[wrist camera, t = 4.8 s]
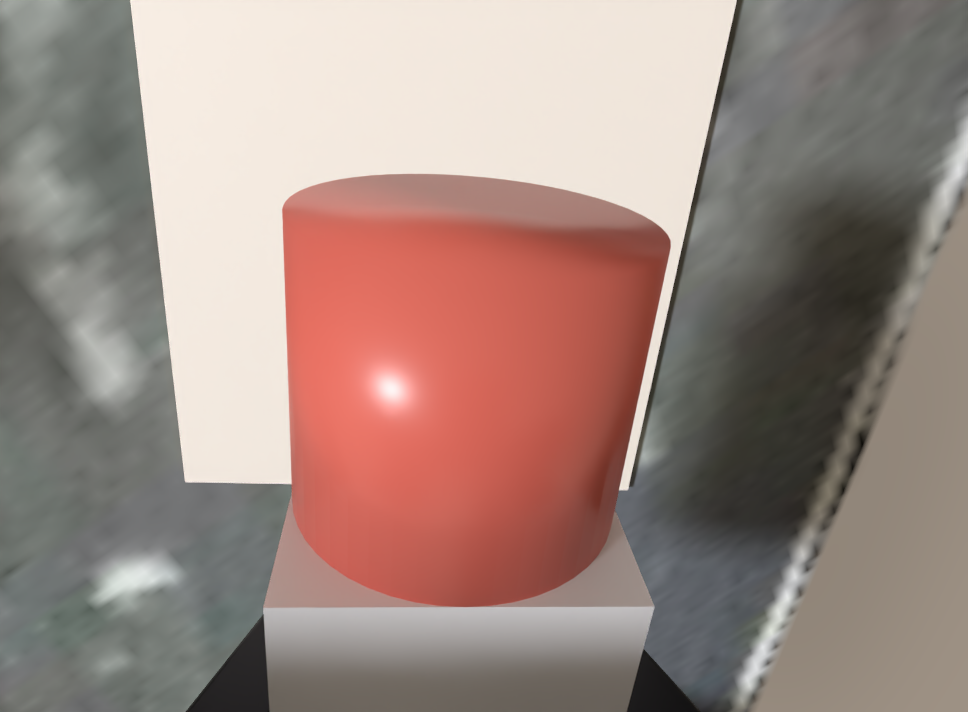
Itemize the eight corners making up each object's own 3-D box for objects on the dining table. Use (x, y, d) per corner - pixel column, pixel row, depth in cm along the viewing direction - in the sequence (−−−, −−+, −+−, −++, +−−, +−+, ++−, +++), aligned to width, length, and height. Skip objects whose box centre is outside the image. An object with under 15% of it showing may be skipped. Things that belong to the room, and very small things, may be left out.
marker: (510, 790, 13) (541, 1033, 10) (320, 797, 12) (290, 1054, 9) (613, 186, 8) (737, 294, 5) (309, 164, 8) (241, 266, 5)
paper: (626, 486, 22) (627, 490, 21) (187, 477, 20) (185, 481, 20) (790, -257, 14) (794, -261, 14) (92, -369, 12) (87, -375, 12)
